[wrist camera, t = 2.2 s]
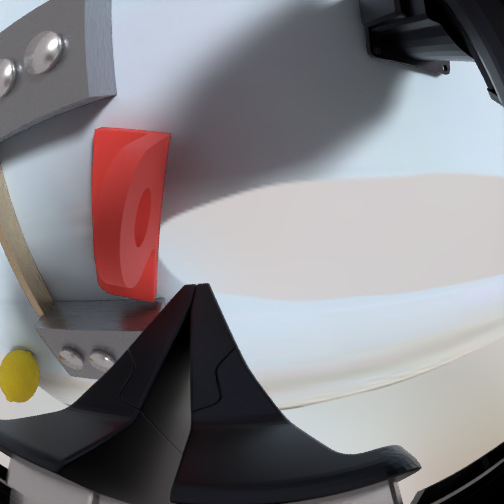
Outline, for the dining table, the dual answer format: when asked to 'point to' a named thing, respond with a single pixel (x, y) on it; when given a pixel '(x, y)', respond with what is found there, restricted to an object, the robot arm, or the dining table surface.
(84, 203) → the dining table surface
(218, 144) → the dining table surface
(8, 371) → the lemon
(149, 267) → the bracket
